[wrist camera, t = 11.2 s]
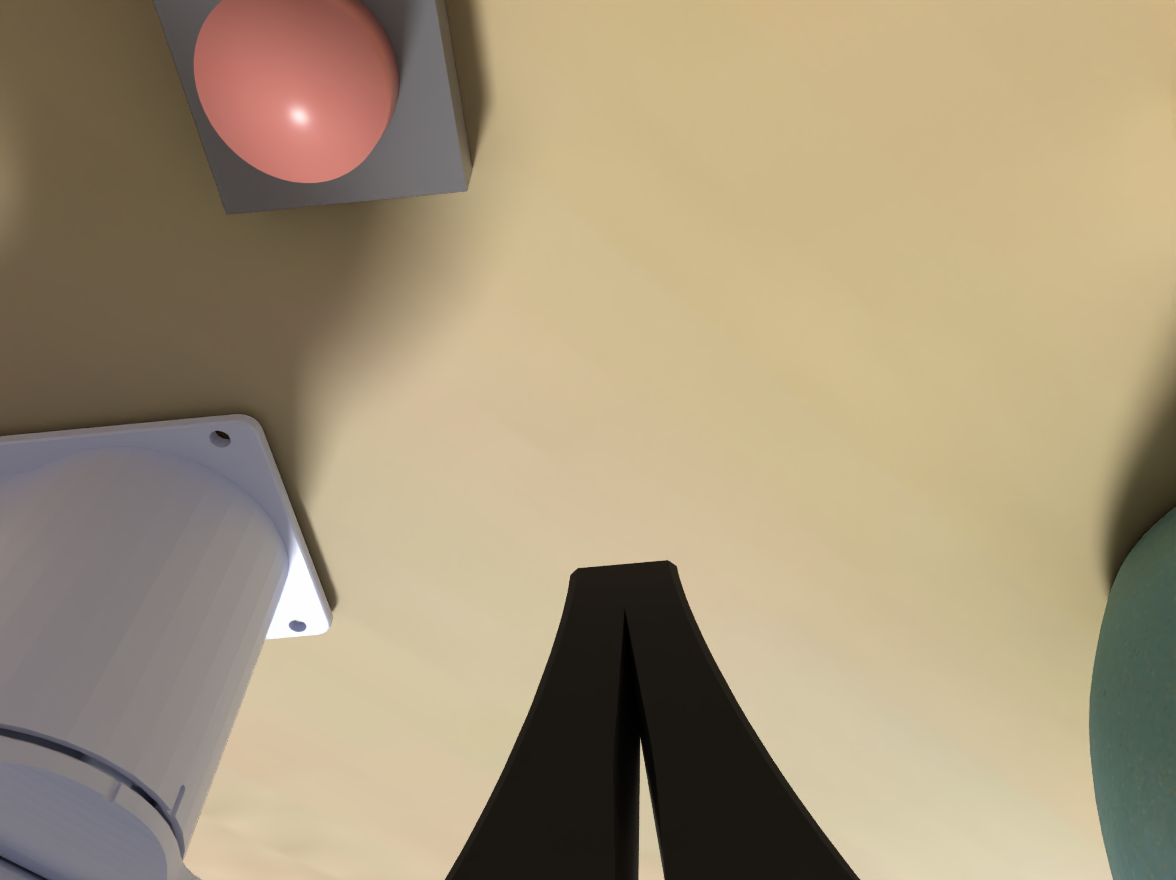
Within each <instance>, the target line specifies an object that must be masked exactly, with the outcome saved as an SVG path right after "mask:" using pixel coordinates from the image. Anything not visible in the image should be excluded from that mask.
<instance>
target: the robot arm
mask: <svg viewBox="0 0 1176 880" xmlns="http://www.w3.org/2000/svg"><path fill="white" fill-rule="evenodd" d="M215 431H222V432H224V433H226V434H228V436H229V437H230V439H223V438H221V437H219V436H218V435H217V434H216V432H215ZM296 620H300V621H302V622H298V621H296ZM332 620H333V616H332V612H331V610H330V607H329V604H328V602H327V599H326V596H325V594H324V591H323V588H322V586H321V583H320V580H319V578H318V575H317V572H316V570H315V567H314V564H313V562H312V559H311V556H310V554H309V551H308V548H307V546H306V543H305V540H304V538H303V535H302V532H301V530H300V527H299V524H298V522H297V519H296V517H295V514H294V511H293V509H292V506H291V503H290V501H289V498H288V495H287V493H286V490H285V487H284V485H283V482H282V479H281V477H280V474H279V471H278V469H277V466H276V463H275V461H274V458H273V455H272V453H271V450H270V447H269V445H268V442H267V439H266V437H265V434H264V431H263V429H262V427H261V425H260V424H259V422H258V421H256V420H255V419H254V418H253V417H250V416H247V415H245V414H231V415H221V416H210V417H200V418H189V419H178V420H168V421H157V422H146V423H136V424H125V425H114V426H104V427H93V428H83V429H72V430H61V431H51V432H40V433H29V434H19V435H8V436H0V880H201V879H200V878H198V877H197V876H195V875H194V874H193V873H192V872H191V871H190V870H189V869H188V868H186V866H185V865H184V863H183V859H184V857H185V854H186V851H187V849H188V846H189V843H190V841H191V838H192V835H193V832H194V830H195V827H196V824H197V822H198V819H199V816H200V814H201V811H202V808H203V805H204V803H205V800H206V797H207V795H208V792H209V789H210V787H211V784H212V781H213V779H214V776H215V773H216V770H217V768H218V765H219V762H220V760H221V757H222V754H223V752H224V749H225V746H226V743H227V741H228V738H229V735H230V733H231V730H232V727H233V725H234V722H235V719H236V717H237V714H238V711H239V708H240V706H241V703H242V700H243V698H244V695H245V692H246V690H247V687H248V684H249V682H250V679H251V676H252V673H253V671H254V668H255V665H256V663H257V660H258V657H259V655H260V652H261V649H262V646H263V644H264V641H265V639H274V638H285V637H296V636H307V635H318V634H322V633H325V632H327V631H328V630H329V628H330V627H331V623H332ZM640 738H641V744H642V750H643V756H644V761H645V767H646V773H647V779H648V785H649V791H650V797H651V802H652V808H653V814H654V820H655V826H656V832H657V837H658V843H659V849H660V855H661V861H662V867H663V873H664V878H665V880H860V879H859V878H858V877H857V875H856V874H855V873H854V872H853V870H852V869H851V868H850V866H849V865H848V864H847V862H846V861H845V860H844V859H843V857H842V856H841V855H840V853H839V852H838V851H837V849H836V848H835V847H834V845H833V844H832V843H831V841H830V840H829V839H828V837H827V836H826V835H825V834H824V832H823V831H822V830H821V828H820V827H819V826H818V824H817V823H816V821H815V820H814V819H813V817H812V816H811V814H810V813H809V812H808V810H807V809H806V807H805V806H804V805H803V803H802V802H801V800H800V799H799V798H798V796H797V795H796V793H795V792H794V791H793V789H792V788H791V786H790V785H789V783H788V782H787V780H786V779H785V777H784V776H783V774H782V773H781V771H780V770H779V768H778V767H777V765H776V764H775V762H774V761H773V759H772V758H771V756H770V755H769V753H768V751H767V750H766V748H765V747H764V745H763V743H762V742H761V740H760V739H759V737H758V735H757V734H756V732H755V731H754V729H753V728H752V726H751V724H750V723H749V721H748V719H747V718H746V716H745V714H744V713H743V711H742V709H741V707H740V706H739V704H738V702H737V701H736V699H735V697H734V695H733V693H732V692H731V690H730V688H729V686H728V684H727V682H726V680H725V679H724V677H723V675H722V673H721V671H720V669H719V668H718V666H717V664H716V662H715V660H714V658H713V656H712V654H711V652H710V650H709V648H708V646H707V644H706V642H705V640H704V638H703V636H702V634H701V631H700V629H699V627H698V625H697V623H696V621H695V618H694V616H693V614H692V611H691V609H690V606H689V604H688V601H687V599H686V596H685V593H684V590H683V587H682V584H681V581H680V578H679V574H678V570H677V566H676V565H674V564H673V563H671V562H670V561H668V560H666V561H655V562H644V563H632V564H621V565H610V566H598V567H587V568H578V569H577V570H575V571H574V572H573V573H572V574H571V575H570V581H569V588H568V593H567V597H566V602H565V606H564V610H563V614H562V618H561V621H560V625H559V628H558V631H557V634H556V638H555V641H554V644H553V647H552V650H551V653H550V656H549V659H548V662H547V665H546V667H545V670H544V673H543V675H542V678H541V681H540V684H539V686H538V689H537V692H536V694H535V697H534V700H533V702H532V705H531V707H530V710H529V712H528V715H527V717H526V719H525V722H524V724H523V726H522V729H521V731H520V733H519V735H518V738H517V740H516V742H515V744H514V747H513V749H512V751H511V754H510V756H509V758H508V760H507V763H506V765H505V767H504V769H503V771H502V774H501V776H500V778H499V780H498V782H497V784H496V786H495V788H494V790H493V792H492V794H491V796H490V798H489V800H488V802H487V804H486V806H485V808H484V810H483V812H482V814H481V816H480V818H479V820H478V821H477V823H476V825H475V827H474V829H473V831H472V833H471V835H470V836H469V838H468V840H467V842H466V844H465V846H464V848H463V849H462V851H461V853H460V855H459V856H458V858H457V860H456V862H455V863H454V865H453V867H452V868H451V870H450V872H449V874H448V875H447V877H446V879H445V880H638V866H639V793H640Z"/></svg>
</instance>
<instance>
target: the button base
mask: <svg viewBox="0 0 1176 880" xmlns="http://www.w3.org/2000/svg"><path fill="white" fill-rule="evenodd" d="M221 1H222V0H153V2H154V5H155V8H156V11H157V14H158V17H159V20H160V22H161V25H162V28H163V31H164V34H165V37H166V40H167V43H168V46H169V49H170V52H171V54H172V57H173V60H174V63H175V66H176V69H177V72H178V75H179V78H180V81H181V84H182V86H183V89H184V92H185V95H186V98H187V101H188V104H189V107H190V110H191V113H192V116H193V118H194V121H195V124H196V127H197V130H198V133H199V136H200V139H201V142H202V145H203V148H204V150H205V153H206V156H207V159H208V162H209V165H210V168H211V171H212V174H213V177H214V179H215V182H216V185H217V188H218V191H219V194H220V197H221V200H222V203H223V206H224V209H225V211H226V214H237V213H248V212H258V211H268V210H279V209H289V208H299V207H310V206H320V205H330V204H341V203H351V202H361V201H372V200H382V199H392V198H403V197H413V196H423V195H434V194H444V193H455V192H465V191H467V190H468V186H469V182H470V178H471V174H472V164H471V158H470V152H469V146H468V140H467V134H466V127H465V121H464V115H463V109H462V103H461V97H460V90H459V84H458V78H457V72H456V66H455V60H454V53H453V47H452V41H451V35H450V29H449V23H448V16H447V10H446V4H445V0H360V1H361V2H362V3H363V4H364V5H365V6H366V7H367V8H368V9H369V10H370V11H371V12H372V13H373V15H374V16H375V17H376V18H377V20H378V21H379V23H380V24H381V25H382V27H383V28H384V30H385V32H386V34H387V36H388V38H389V40H390V42H391V45H392V47H393V50H394V53H395V57H396V61H397V65H398V72H399V95H398V101H397V105H396V109H395V112H394V114H393V117H392V119H391V121H390V123H389V125H388V126H387V128H386V130H385V131H384V133H383V134H382V136H381V137H380V139H379V141H378V142H377V144H376V145H375V147H374V148H373V150H372V151H371V152H370V154H369V155H368V156H367V157H366V159H365V160H364V161H363V162H362V163H361V164H360V165H358V166H357V167H356V168H355V169H353V170H352V171H350V172H349V173H347V174H345V175H343V176H341V177H339V178H336V179H332V180H329V181H324V182H318V183H299V182H291V181H287V180H282V179H279V178H276V177H274V176H271V175H268V174H266V173H264V172H262V171H260V170H258V169H257V168H255V167H253V166H252V165H250V164H248V163H247V162H246V161H244V160H243V159H242V158H241V157H239V156H238V155H237V154H236V153H235V152H234V151H233V150H232V149H231V148H230V147H229V146H227V144H226V143H225V142H224V141H223V140H222V138H221V137H220V136H219V135H218V133H217V132H216V130H215V129H214V127H213V126H212V125H211V123H210V121H209V119H208V117H207V115H206V113H205V112H204V109H203V107H202V104H201V102H200V99H199V95H198V92H197V88H196V83H195V76H194V53H195V46H196V42H197V38H198V35H199V32H200V30H201V28H202V25H203V23H204V22H205V20H206V18H207V17H208V15H209V14H210V12H211V11H212V10H213V9H214V8H215V7H216V6H217V5H218V4H219V3H220V2H221Z"/></svg>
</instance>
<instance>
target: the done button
mask: <svg viewBox="0 0 1176 880" xmlns="http://www.w3.org/2000/svg"><path fill="white" fill-rule="evenodd" d="M194 76H195V83H196V88H197V92H198V95H199V99H200V102H201V104H202V107H203V109H204V112H205V113H206V115H207V117H208V119H209V121H210V123H211V125H212V126H213V127H214V129H215V130H216V132H217V133H218V135H219V136H220V137H221V138H222V140H223V141H224V142H225V143H226V144H227V146H229V147H230V148H231V149H232V150H233V151H234V152H235V153H236V154H237V155H238V156H239V157H241V158H242V159H243V160H244V161H246V162H247V163H248V164H250V165H252V166H253V167H255V168H257V169H258V170H260V171H262V172H264V173H266V174H268V175H271V176H274V177H276V178H279V179H282V180H287V181H291V182H299V183H318V182H324V181H329V180H332V179H336V178H339V177H341V176H343V175H345V174H347V173H349V172H350V171H352V170H353V169H355V168H356V167H357V166H358V165H360V164H361V163H362V162H363V161H364V160H365V159H366V157H367V156H368V155H369V154H370V152H371V151H372V150H373V148H374V147H375V145H376V144H377V142H378V141H379V139H380V137H381V136H382V134H383V133H384V131H385V130H386V128H387V126H388V125H389V123H390V121H391V119H392V117H393V114H394V112H395V109H396V105H397V101H398V95H399V72H398V65H397V61H396V57H395V53H394V50H393V47H392V45H391V42H390V40H389V38H388V36H387V34H386V32H385V30H384V28H383V27H382V25H381V24H380V23H379V21H378V20H377V18H376V17H375V16H374V15H373V13H372V12H371V11H370V10H369V9H368V8H367V7H366V6H365V5H364V4H363V3H362V2H361V1H360V0H222V1H221V2H220V3H219V4H218V5H217V6H216V7H215V8H214V9H213V10H212V11H211V12H210V14H209V15H208V17H207V18H206V20H205V22H204V23H203V25H202V28H201V30H200V32H199V35H198V38H197V42H196V46H195V53H194Z"/></svg>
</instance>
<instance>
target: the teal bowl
mask: <svg viewBox="0 0 1176 880" xmlns="http://www.w3.org/2000/svg"><path fill="white" fill-rule="evenodd" d="M1089 735H1090V755H1091V764H1092V774H1093V782H1094V790H1095V798H1096V804H1097V809H1098V815H1099V820H1100V825H1101V831H1102V836H1103V840H1104V844H1105V848H1106V853H1107V857H1108V861H1109V865H1110V869H1111V873H1112V877H1113V880H1176V507H1174V508H1173V509H1172V510H1170V511H1169V512H1168V513H1167V514H1166V515H1164V516H1163V517H1162V518H1161V519H1160V520H1158V521H1157V522H1156V523H1155V524H1154V525H1153V526H1152V527H1151V528H1150V529H1149V530H1148V531H1147V532H1146V533H1145V534H1144V535H1143V536H1142V537H1141V538H1140V540H1139V541H1138V542H1137V543H1136V545H1135V546H1134V547H1133V549H1132V550H1131V551H1130V553H1129V554H1128V555H1127V557H1126V559H1125V560H1124V562H1123V564H1122V566H1121V568H1120V570H1119V572H1118V574H1117V576H1116V579H1115V581H1114V583H1113V586H1112V588H1111V591H1110V595H1109V598H1108V602H1107V605H1106V609H1105V613H1104V617H1103V621H1102V625H1101V630H1100V635H1099V640H1098V645H1097V650H1096V655H1095V662H1094V668H1093V675H1092V683H1091V692H1090V709H1089Z"/></svg>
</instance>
